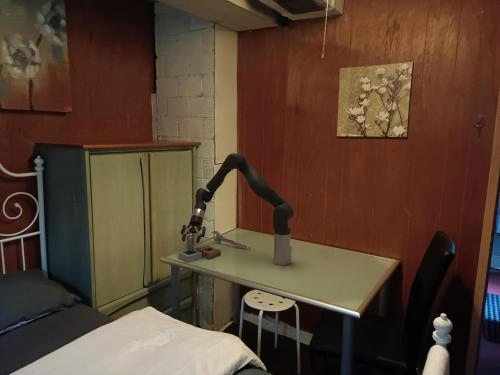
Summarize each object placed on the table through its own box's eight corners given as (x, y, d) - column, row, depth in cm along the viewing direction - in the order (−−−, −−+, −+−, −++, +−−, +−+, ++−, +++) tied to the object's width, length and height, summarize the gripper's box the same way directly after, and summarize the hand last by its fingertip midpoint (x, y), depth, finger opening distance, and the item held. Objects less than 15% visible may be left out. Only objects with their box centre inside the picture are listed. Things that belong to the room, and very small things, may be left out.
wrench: (248, 255, 227) (210, 241, 242) (249, 254, 228) (212, 240, 244) (249, 243, 225) (211, 229, 240) (251, 242, 227) (213, 229, 242)
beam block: (220, 255, 217) (220, 250, 216) (208, 259, 210) (208, 253, 210) (207, 250, 225) (207, 245, 224) (195, 254, 218) (195, 248, 218)
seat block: (201, 258, 212) (201, 252, 211) (188, 262, 205) (188, 256, 205) (191, 254, 218) (191, 248, 218) (178, 258, 212) (178, 252, 211)
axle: (195, 258, 212) (195, 236, 210) (189, 259, 209) (189, 238, 207) (191, 256, 215) (190, 235, 213) (185, 258, 212) (185, 236, 210)
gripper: (184, 213, 218) (176, 237, 209) (207, 215, 215) (200, 239, 206) (188, 220, 224) (180, 244, 215) (210, 222, 221) (203, 246, 212)
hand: (190, 242), depth 210 cm, fingers open, 8 cm apart
